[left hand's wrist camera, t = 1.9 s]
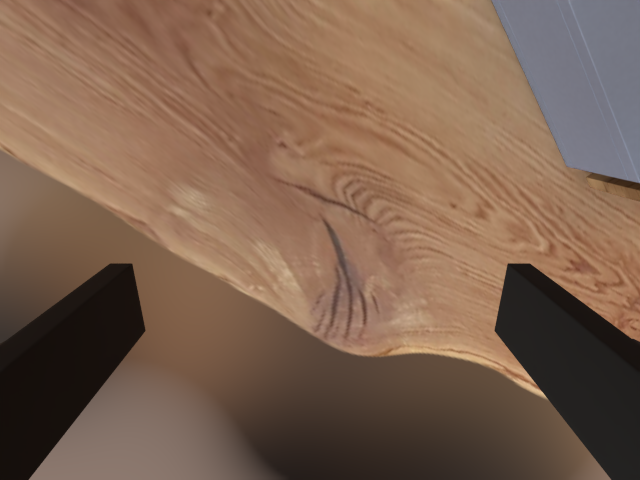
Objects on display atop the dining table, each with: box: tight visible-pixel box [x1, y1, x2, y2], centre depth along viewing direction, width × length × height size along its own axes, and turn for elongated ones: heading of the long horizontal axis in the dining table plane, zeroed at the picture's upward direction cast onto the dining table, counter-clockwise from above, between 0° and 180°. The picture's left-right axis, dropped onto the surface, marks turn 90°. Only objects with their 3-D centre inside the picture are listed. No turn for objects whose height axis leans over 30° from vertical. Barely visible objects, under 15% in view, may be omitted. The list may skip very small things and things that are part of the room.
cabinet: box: [492, 0, 640, 183], centre depth 26 cm, size 18×11×8 cm, turn 35°
